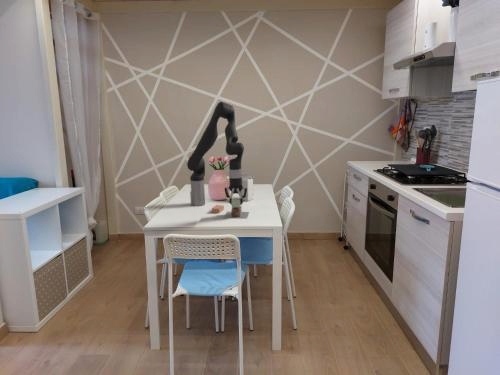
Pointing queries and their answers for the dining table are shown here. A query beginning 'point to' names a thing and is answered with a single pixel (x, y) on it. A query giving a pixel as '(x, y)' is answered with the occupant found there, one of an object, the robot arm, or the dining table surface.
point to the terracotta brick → (217, 209)
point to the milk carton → (248, 183)
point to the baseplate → (243, 216)
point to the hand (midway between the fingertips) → (236, 204)
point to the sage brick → (235, 201)
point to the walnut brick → (236, 211)
